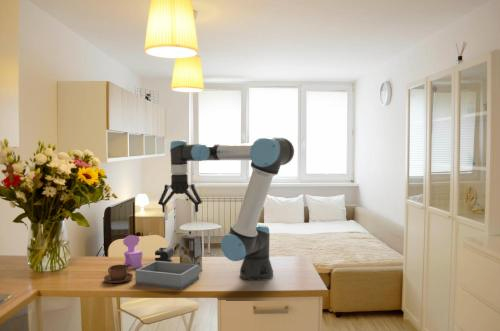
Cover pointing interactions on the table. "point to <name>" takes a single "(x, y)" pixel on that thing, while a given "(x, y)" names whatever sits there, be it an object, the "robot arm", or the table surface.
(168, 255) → the end cap
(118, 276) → the cup and saucer
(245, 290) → the table surface
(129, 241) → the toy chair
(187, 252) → the coffee box
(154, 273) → the walled bin
